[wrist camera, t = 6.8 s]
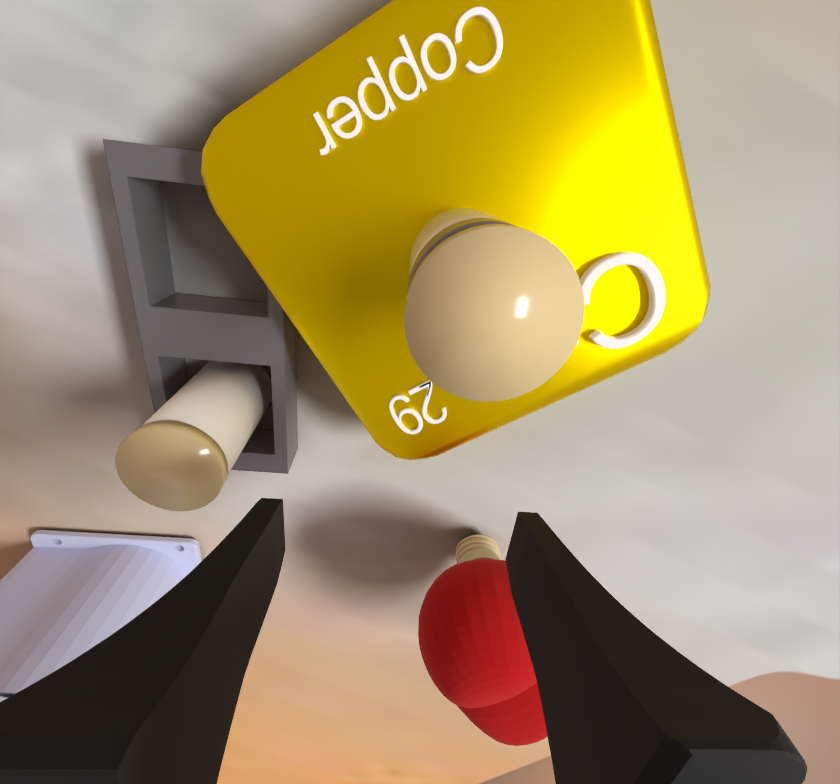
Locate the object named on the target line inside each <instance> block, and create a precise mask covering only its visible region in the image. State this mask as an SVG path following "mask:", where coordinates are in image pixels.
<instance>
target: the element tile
mask: <svg viewBox="0 0 840 784" xmlns="http://www.w3.org/2000/svg"><path fill="white" fill-rule="evenodd" d="M201 174H202V178H203V181H204V185H205V188H206V192H207V195H208V198H209V200H210V202H211V204H212V206H213V208H214V210H215V212H216V214H217V215H218V217H219V218H220V219H221V221H222V222H223V224H224V225H225V227H226V228H227V229H228V231H229V232H230V234H231V235H232V237H233V238H234V240H235V241H236V242H237V244H238V245H239V247H240V248H241V250H242V251H243V252H244V254H245V255H246V257H247V258H248V260H249V261H250V262H251V264H252V265H253V267H254V268H255V270H256V271H257V273H258V274H259V275H260V277H261V278H262V280H263V281H264V283H265V284H266V285H267V287H268V288H269V290H270V291H271V293H272V294H273V295H274V297H275V298H276V300H277V301H278V303H279V304H280V305H281V307H282V308H283V310H284V311H285V313H286V314H287V316H288V317H289V318H290V320H291V321H292V323H293V324H294V326H295V327H296V328H297V330H298V331H299V333H300V334H301V336H302V337H303V338H304V340H305V341H306V343H307V344H308V346H309V347H310V349H311V350H312V351H313V353H314V354H315V356H316V357H317V359H318V360H319V361H320V363H321V364H322V366H323V367H324V369H325V370H326V371H327V373H328V374H329V376H330V377H331V379H332V380H333V381H334V383H335V384H336V386H337V387H338V389H339V390H340V392H341V393H342V394H343V396H344V397H345V399H346V400H347V402H348V403H349V404H350V406H351V407H352V409H353V410H354V412H355V413H356V414H357V416H358V417H359V419H360V420H361V422H362V423H363V424H364V426H365V427H366V429H367V430H368V432H369V433H370V435H371V436H372V437H373V439H374V440H375V442H376V443H377V444H378V445H379V446H380V447H382V448H383V449H384V450H386V451H387V452H389V453H391V454H392V455H394V456H395V457H399V458H403V459H408V460H416V459H426V458H430V457H433V456H437V455H439V454H441V453H444V452H446V451H448V450H450V449H453V448H455V447H457V446H459V445H461V444H464V443H466V442H468V441H470V440H473V439H475V438H477V437H479V436H481V435H484V434H486V433H488V432H490V431H492V430H495V429H497V428H499V427H501V426H504V425H506V424H508V423H510V422H512V421H515V420H517V419H519V418H521V417H523V416H526V415H528V414H530V413H532V412H535V411H537V410H539V409H541V408H543V407H546V406H548V405H550V404H552V403H555V402H557V401H559V400H561V399H563V398H566V397H568V396H570V395H572V394H574V393H577V392H579V391H581V390H583V389H586V388H588V387H590V386H592V385H594V384H597V383H599V382H601V381H603V380H606V379H608V378H610V377H612V376H614V375H617V374H619V373H621V372H623V371H625V370H628V369H630V368H632V367H634V366H637V365H639V364H641V363H643V362H645V361H648V360H650V359H652V358H654V357H656V356H659V355H661V354H663V353H665V352H667V351H669V350H670V349H672V348H674V347H675V346H677V345H679V344H681V343H682V342H683V341H684V340H685V339H686V338H687V337H688V336H689V335H691V334H692V333H693V332H694V331H695V330H696V329H697V327H698V325H699V324H700V322H701V321H702V319H703V317H704V316H705V314H706V310H707V305H708V301H709V296H710V282H709V278H708V273H707V268H706V263H705V259H704V254H703V249H702V244H701V240H700V235H699V230H698V226H697V221H696V216H695V211H694V207H693V202H692V197H691V192H690V188H689V183H688V178H687V173H686V169H685V164H684V159H683V154H682V150H681V145H680V140H679V135H678V131H677V126H676V121H675V116H674V112H673V107H672V102H671V98H670V93H669V88H668V83H667V79H666V74H665V69H664V64H663V60H662V55H661V50H660V45H659V41H658V36H657V31H656V26H655V22H654V17H653V12H652V7H651V3H650V0H393V1H391V2H390V3H388V4H387V5H385V6H384V7H382V8H381V9H380V10H378V11H377V12H375V13H374V14H372V15H371V16H369V17H368V18H367V19H365V20H364V21H362V22H361V23H359V24H358V25H356V26H355V27H353V28H352V29H351V30H349V31H348V32H346V33H345V34H343V35H342V36H340V37H339V38H338V39H336V40H335V41H333V42H332V43H330V44H329V45H327V46H326V47H325V48H323V49H322V50H320V51H319V52H317V53H316V54H314V55H313V56H312V57H310V58H309V59H307V60H306V61H304V62H303V63H301V64H300V65H299V66H297V67H296V68H294V69H293V70H291V71H290V72H288V73H287V74H286V75H284V76H283V77H281V78H280V79H278V80H277V81H275V82H274V83H272V84H271V85H270V86H268V87H267V88H265V89H264V90H262V91H261V92H259V93H258V94H257V95H255V96H254V97H252V98H251V99H249V100H248V101H246V102H245V103H244V104H242V105H241V106H239V107H238V108H236V109H235V110H233V111H232V112H231V113H229V114H228V115H226V116H225V117H224V118H223V119H222V120H221V121H220V122H219V124H218V125H217V126H216V127H215V128H214V129H213V130H212V132H211V134H210V136H209V138H208V140H207V142H206V144H205V146H204V148H203V151H202V165H201ZM454 208H473V209H477V210H480V211H483V212H485V213H487V214H489V215H491V216H493V217H495V218H497V219H500V220H503V221H506V222H508V223H511V224H513V225H515V226H518V227H520V228H523V229H526V230H529V231H531V232H533V233H536V234H538V235H540V236H541V237H543V238H545V239H547V240H549V241H550V242H551V243H553V244H554V245H555V246H557V247H558V248H559V249H560V250H561V251H562V252H563V253H564V254H565V255H566V257H567V258H568V259H569V261H570V262H571V263H572V265H573V267H574V269H575V271H576V272H577V274H578V277H579V280H580V283H581V286H582V290H583V296H584V319H583V324H582V329H581V333H580V335H579V338H578V341H577V343H576V345H575V347H574V349H573V351H572V353H571V355H570V356H569V358H568V359H567V361H566V362H565V363H564V364H563V366H562V367H561V368H560V369H559V370H558V371H557V372H556V373H555V374H554V375H553V376H552V377H551V378H550V379H549V380H547V381H546V382H544V383H543V384H542V385H540V386H539V387H537V388H535V389H533V390H532V391H530V392H527V393H525V394H523V395H521V396H517V397H514V398H511V399H506V400H501V401H491V402H485V401H474V400H468V399H464V398H461V397H457V396H455V395H453V394H450V393H448V392H446V391H444V390H443V389H441V388H439V387H438V386H437V385H435V384H434V383H433V382H431V381H430V380H429V379H428V378H427V377H426V376H425V375H424V374H423V372H422V371H421V370H420V368H419V367H418V366H417V364H416V362H415V360H414V359H413V357H412V355H411V352H410V350H409V347H408V344H407V340H406V335H405V326H404V319H405V304H406V298H407V287H408V280H409V273H410V256H411V250H412V247H413V244H414V241H415V239H416V237H417V235H418V233H419V232H420V230H421V229H422V228H423V227H424V225H425V224H426V223H427V222H428V221H429V220H431V219H432V218H433V217H435V216H436V215H438V214H440V213H442V212H444V211H447V210H450V209H454Z"/></svg>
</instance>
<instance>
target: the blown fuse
mask: <svg viewBox="0 0 840 784" xmlns="http://www.w3.org/2000/svg"><path fill="white" fill-rule="evenodd" d="M583 319H584V296H583V290H582V286H581V283H580V280H579V277H578V274H577V272H576V271H575V269H574V267H573V265H572V263H571V262H570V261H569V259H568V258H567V257H566V255H565V254H564V253H563V252H562V251H561V250H560V249H559V248H558V247H557V246H555V245H554V244H553V243H551V242H550V241H549V240H547V239H545V238H543V237H541V236H540V235H538V234H536V233H533V232H531V231H529V230H526V229H523V228H520V227H518V226H515V225H513V224H511V223H508V222H506V221H503V220H500V219H497V218H495V217H493V216H491V215H489V214H487V213H485V212H483V211H480V210H477V209H473V208H454V209H450V210H447V211H444V212H442V213H440V214H438V215H436V216H435V217H433V218H432V219H431V220H429V221H428V222H427V223H426V224H425V225H424V227H423V228H422V229H421V230H420V232H419V233H418V235H417V237H416V239H415V241H414V244H413V247H412V250H411V256H410V273H409V280H408V287H407V298H406V304H405V319H404V326H405V335H406V340H407V344H408V347H409V350H410V352H411V355H412V357H413V359H414V360H415V362H416V364H417V366H418V367H419V368H420V370H421V371H422V372H423V374H424V375H425V376H426V377H427V378H428V379H429V380H430V381H431V382H433V383H434V384H435V385H437V386H438V387H439V388H441V389H443V390H444V391H446V392H448V393H450V394H453V395H455V396H457V397H461V398H464V399H468V400H474V401H485V402H491V401H501V400H506V399H511V398H514V397H517V396H521V395H523V394H525V393H527V392H530V391H532V390H533V389H535V388H537V387H539V386H540V385H542V384H543V383H544V382H546V381H547V380H549V379H550V378H551V377H552V376H553V375H554V374H555V373H556V372H557V371H558V370H559V369H560V368H561V367H562V366H563V364H564V363H565V362H566V361H567V359H568V358H569V356H570V355H571V353H572V351H573V349H574V347H575V345H576V343H577V341H578V338H579V335H580V333H581V329H582V324H583Z"/></svg>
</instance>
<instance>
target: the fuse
mask: <svg viewBox="0 0 840 784" xmlns="http://www.w3.org/2000/svg"><path fill="white" fill-rule="evenodd" d="M271 400H272V383H271V380H270V378H269V376H268V374H267V373H266V372H265V370H264V369H263V368H262V367H261V366H260V365H255V364H244V363H233V362H222V361H209V362H208V363H207V364H206V365H205V366H204V367H203V368H202V369H201V370H200V371H199V372H198V373H197V374H195V375H194V376H193V377H192V378H191V379H190V380H189V381H188V382H187V383H186V384H185V385H184V386H183V387H182V388H181V389H180V390H179V391H178V392H177V393H176V394H174V395H173V396H172V397H171V398H170V399H169V400H168V401H167V402H166V403H165V404H164V405H163V406H162V407H161V408H160V409H159V410H158V411H157V412H156V413H154V414H153V415H152V416H151V417H150V418H149V419H148V420H147V421H146V422H145V423H144V424H143V425H142V426H140V427H138V428H137V429H136V430H134V431H133V432H132V433H131V434H130V435H129V436H128V437H127V438H126V439H125V440H124V441H123V442H122V443H121V445H120V446H119V448H118V450H117V453H116V469H117V472H118V474H119V476H120V478H121V480H122V482H123V483H124V484H125V486H126V487H127V488H128V489H129V490H130V491H131V492H132V493H133V494H135V495H136V496H137V497H138V498H140V499H142V500H143V501H145V502H147V503H149V504H151V505H153V506H156V507H159V508H162V509H167V510H173V511H189V510H195V509H198V508H201V507H203V506H205V505H207V504H209V503H210V502H212V501H213V500H214V499H215V498H216V496H217V495H218V493H219V492H220V490H221V488H222V487H223V485H224V483H225V481H226V479H227V476H228V474H229V472H230V470H231V469H232V467H233V465H234V464H235V462H236V460H237V459H238V457H239V455H240V453H241V452H242V450H243V448H244V447H245V445H246V443H247V442H248V440H249V438H250V437H251V435H252V433H253V431H254V430H255V428H256V426H257V425H258V423H259V421H260V420H261V418H262V416H263V414H264V413H265V411H266V409H267V408H268V406H269V404H270V402H271Z"/></svg>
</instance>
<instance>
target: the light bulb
mask: <svg viewBox="0 0 840 784" xmlns="http://www.w3.org/2000/svg"><path fill="white" fill-rule="evenodd" d="M455 554H456V560H457V564H456V565H454V566H452V567H450V568H449V569H447V570H445V571H444V572H443V573H442V574H441V575H440V576H439V577H438V578H437V579H436V580H435V581H434V582H433V584H432V585H431V587H430V588H429V590H428V592H427V594H426V596H425V599H424V601H423V604H422V607H421V610H420V615H419V632H418V636H419V645H420V650H421V654H422V658H423V660H424V663H425V666H426V668H427V671H428V673H429V675H430V677H431V679H432V680H433V682H434V684H435V685H436V686H437V688H438V689H439V690H440V692H441V693H442V694H443V695H444V696H445V697H446V698H447V699H448V700H450V701H451V702H453V703H454V704H456V705H457V706H458V707H459V708H460V709H461V710H462V712H463V713H464V714H465V715H466V716H467V717H468V718H469V719H470V720H471V721H472V722H473V723H474V724H475V725H476V726H477V727H478V728H479V729H481V730H482V731H483V732H484V733H485V734H487V735H488V736H490V737H491V738H493V739H494V740H496V741H498V742H501V743H504V744H507V745H515V746H518V745H527V744H531V743H535V742H538V741H540V740H542V739H544V738H546V737H547V736H548V735H547V730H546V724H545V719H544V714H543V709H542V704H541V699H540V694H539V689H538V684H537V680H536V676H535V672H534V668H533V665H532V661H531V658H530V654H529V651H528V648H527V644H526V641H525V638H524V634H523V631H522V628H521V624H520V621H519V618H518V614H517V611H516V607H515V604H514V600H513V597H512V593H511V589H510V583H509V578H508V571H507V565H506V561H504V560H501V556H500V552H499V549H498V545H497V543H496V542H495V540H494V539H492V538H491V537H489V536H486V535H472V536H468V537H466V538H464V539H463V540H461V541H460V542H459V544H458V545H457V547H456V551H455Z"/></svg>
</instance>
